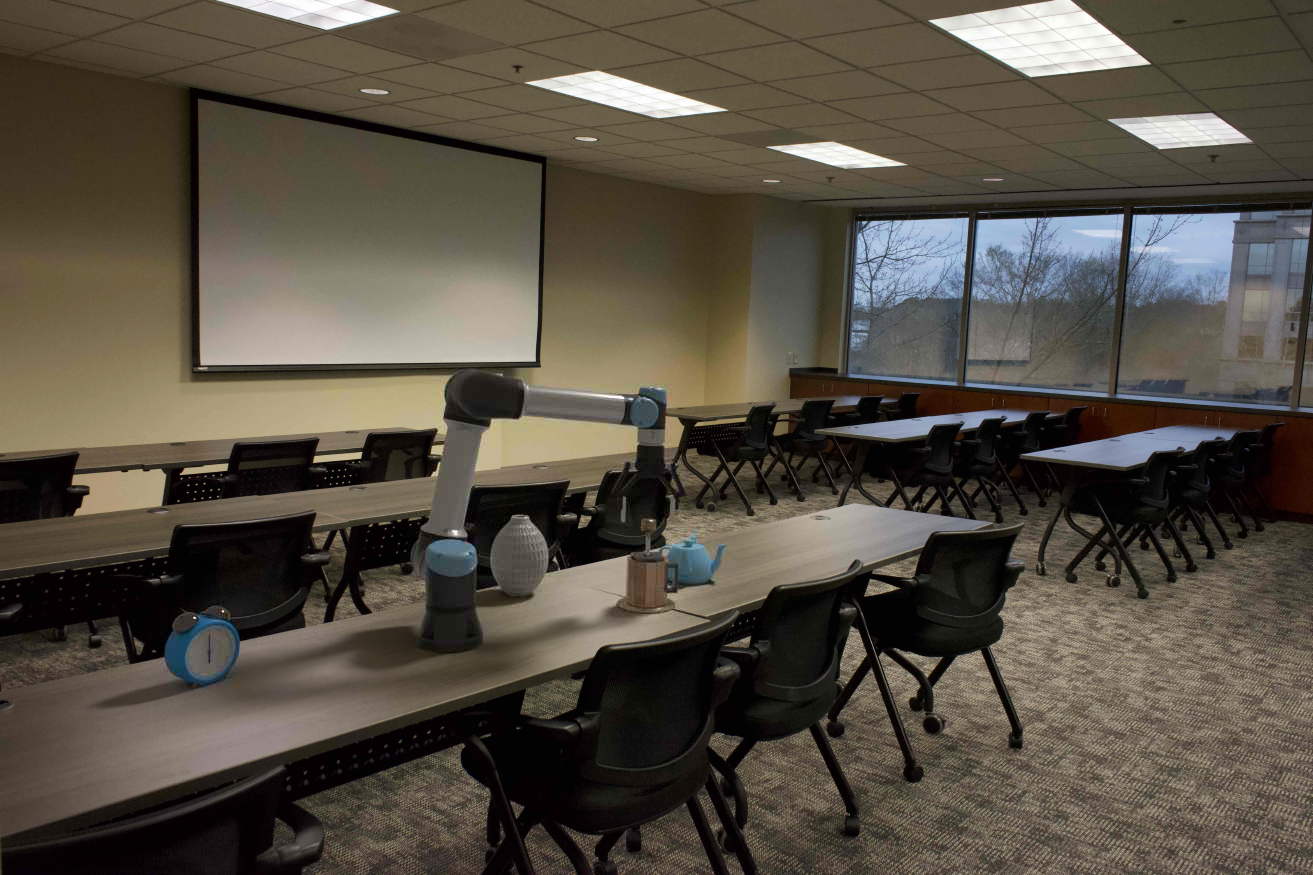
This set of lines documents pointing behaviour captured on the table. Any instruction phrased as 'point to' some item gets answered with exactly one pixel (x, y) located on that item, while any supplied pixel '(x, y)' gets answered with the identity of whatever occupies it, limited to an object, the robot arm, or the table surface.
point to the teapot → (692, 561)
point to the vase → (519, 557)
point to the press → (648, 584)
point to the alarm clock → (202, 646)
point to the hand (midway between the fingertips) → (647, 521)
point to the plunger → (648, 532)
